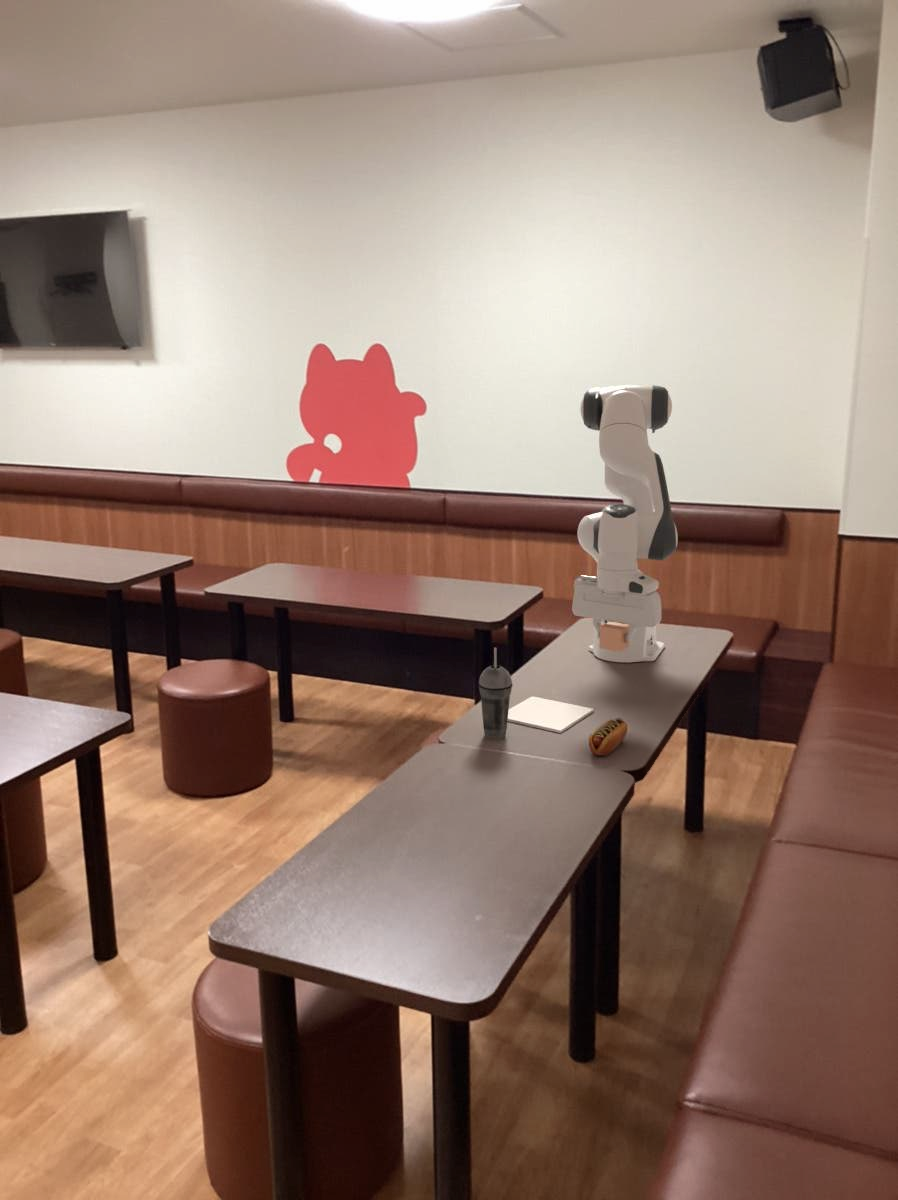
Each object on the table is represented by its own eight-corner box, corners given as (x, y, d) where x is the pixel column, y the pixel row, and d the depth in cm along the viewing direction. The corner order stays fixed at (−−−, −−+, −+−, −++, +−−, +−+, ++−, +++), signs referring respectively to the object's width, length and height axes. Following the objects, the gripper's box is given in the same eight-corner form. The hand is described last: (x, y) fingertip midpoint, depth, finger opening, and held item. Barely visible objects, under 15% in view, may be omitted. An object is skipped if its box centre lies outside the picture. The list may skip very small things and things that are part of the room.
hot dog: (582, 757, 212) (583, 734, 211) (607, 736, 223) (608, 714, 222) (605, 762, 210) (606, 738, 208) (630, 740, 221) (630, 718, 219)
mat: (532, 698, 246) (532, 696, 246) (593, 711, 237) (593, 708, 237) (496, 718, 233) (496, 716, 233) (560, 733, 224) (560, 730, 224)
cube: (609, 642, 236) (609, 621, 235) (629, 646, 234) (630, 624, 232) (599, 648, 232) (600, 626, 231) (620, 651, 230) (620, 629, 228)
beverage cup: (512, 730, 226) (513, 641, 221) (511, 742, 219) (512, 651, 214) (479, 729, 227) (479, 640, 222) (476, 741, 220) (477, 650, 215)
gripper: (568, 576, 232) (566, 636, 236) (654, 588, 221) (651, 650, 225) (580, 571, 237) (579, 630, 241) (665, 582, 226) (662, 643, 230)
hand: (614, 640), depth 233 cm, fingers closed on cube, 5 cm apart
